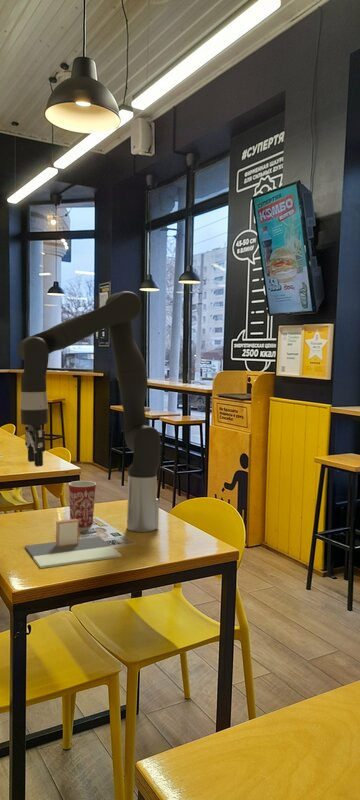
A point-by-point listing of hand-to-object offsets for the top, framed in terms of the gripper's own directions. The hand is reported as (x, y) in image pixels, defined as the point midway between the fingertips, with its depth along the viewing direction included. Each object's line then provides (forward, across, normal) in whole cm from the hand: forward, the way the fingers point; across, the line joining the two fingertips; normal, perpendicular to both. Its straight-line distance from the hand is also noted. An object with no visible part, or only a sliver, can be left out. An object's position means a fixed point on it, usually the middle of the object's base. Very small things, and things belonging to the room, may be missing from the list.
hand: (35, 463), depth 161 cm
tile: (+19, -7, -7) cm, 22 cm away
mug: (+24, +16, -18) cm, 34 cm away
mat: (+23, -12, -7) cm, 27 cm away
